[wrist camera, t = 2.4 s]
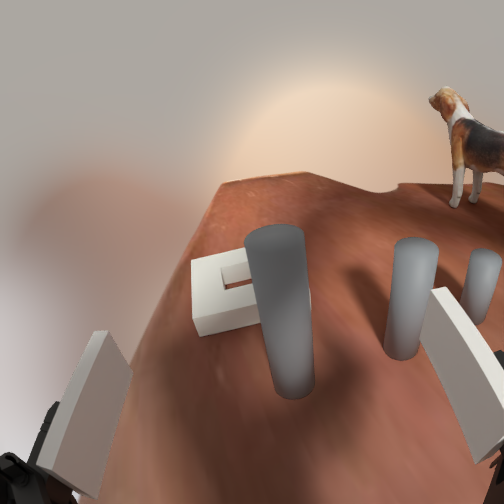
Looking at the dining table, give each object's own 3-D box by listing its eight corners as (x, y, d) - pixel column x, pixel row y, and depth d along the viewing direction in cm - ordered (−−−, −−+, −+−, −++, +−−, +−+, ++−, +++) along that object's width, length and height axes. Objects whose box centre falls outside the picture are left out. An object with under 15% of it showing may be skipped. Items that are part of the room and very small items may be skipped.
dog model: (444, 185, 65) (442, 85, 53) (572, 265, 30) (596, 119, 18) (416, 190, 65) (412, 83, 53) (551, 281, 29) (580, 114, 17)
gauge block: (282, 255, 50) (280, 239, 48) (311, 309, 38) (309, 290, 36) (196, 276, 49) (191, 260, 47) (199, 336, 37) (192, 318, 35)
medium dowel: (406, 328, 31) (421, 233, 25) (424, 352, 28) (448, 254, 22) (377, 340, 31) (386, 243, 25) (393, 365, 27) (411, 266, 22)
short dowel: (472, 299, 32) (485, 245, 28) (490, 317, 29) (508, 262, 25) (451, 309, 32) (464, 253, 28) (469, 329, 28) (487, 272, 24)
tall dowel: (307, 363, 30) (293, 219, 23) (320, 392, 27) (312, 243, 19) (270, 373, 30) (240, 231, 22) (279, 404, 27) (249, 258, 19)
